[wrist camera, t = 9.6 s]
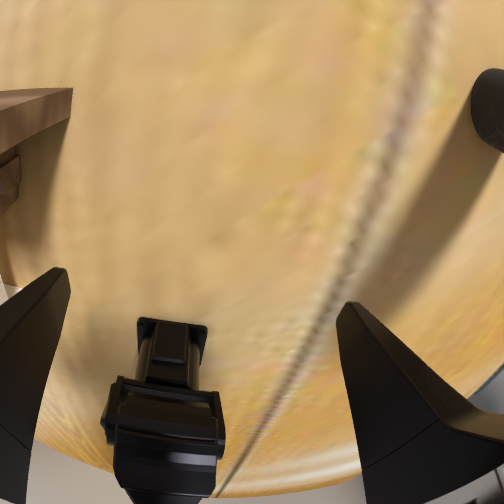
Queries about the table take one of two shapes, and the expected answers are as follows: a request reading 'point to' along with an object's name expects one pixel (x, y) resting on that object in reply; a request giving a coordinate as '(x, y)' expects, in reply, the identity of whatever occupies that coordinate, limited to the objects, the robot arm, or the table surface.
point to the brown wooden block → (25, 128)
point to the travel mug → (489, 107)
